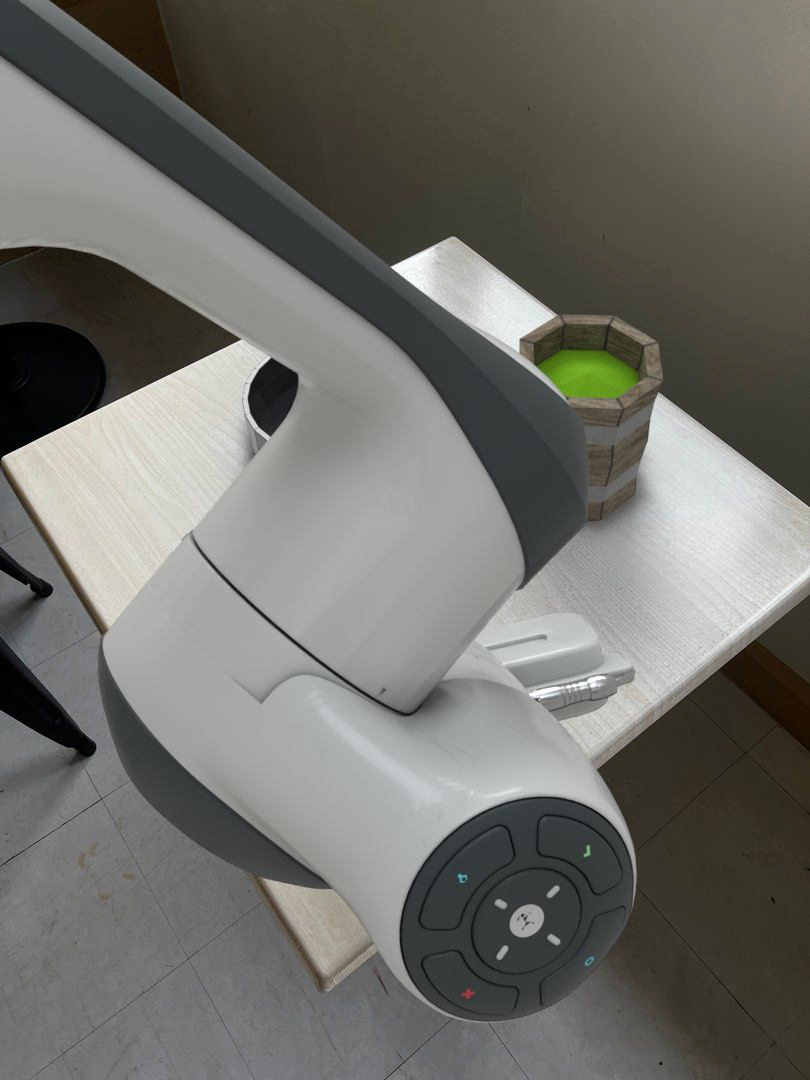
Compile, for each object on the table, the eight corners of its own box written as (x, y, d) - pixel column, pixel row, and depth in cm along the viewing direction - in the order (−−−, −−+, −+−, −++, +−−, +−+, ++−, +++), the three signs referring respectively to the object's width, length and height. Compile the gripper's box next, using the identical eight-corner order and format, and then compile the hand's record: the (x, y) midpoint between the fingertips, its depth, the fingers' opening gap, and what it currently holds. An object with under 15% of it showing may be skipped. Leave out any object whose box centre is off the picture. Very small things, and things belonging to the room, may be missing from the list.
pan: (265, 513, 71) (254, 471, 67) (243, 393, 80) (232, 350, 76) (440, 477, 73) (439, 434, 69) (400, 363, 82) (397, 320, 78)
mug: (656, 449, 74) (686, 335, 65) (613, 541, 68) (639, 431, 59) (483, 394, 79) (488, 281, 69) (430, 476, 73) (427, 365, 64)
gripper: (639, 613, 40) (548, 569, 54) (188, 716, 38) (213, 643, 51) (660, 744, 41) (566, 668, 55) (220, 852, 39) (237, 745, 52)
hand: (392, 657), depth 53 cm, fingers closed on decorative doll, 4 cm apart
